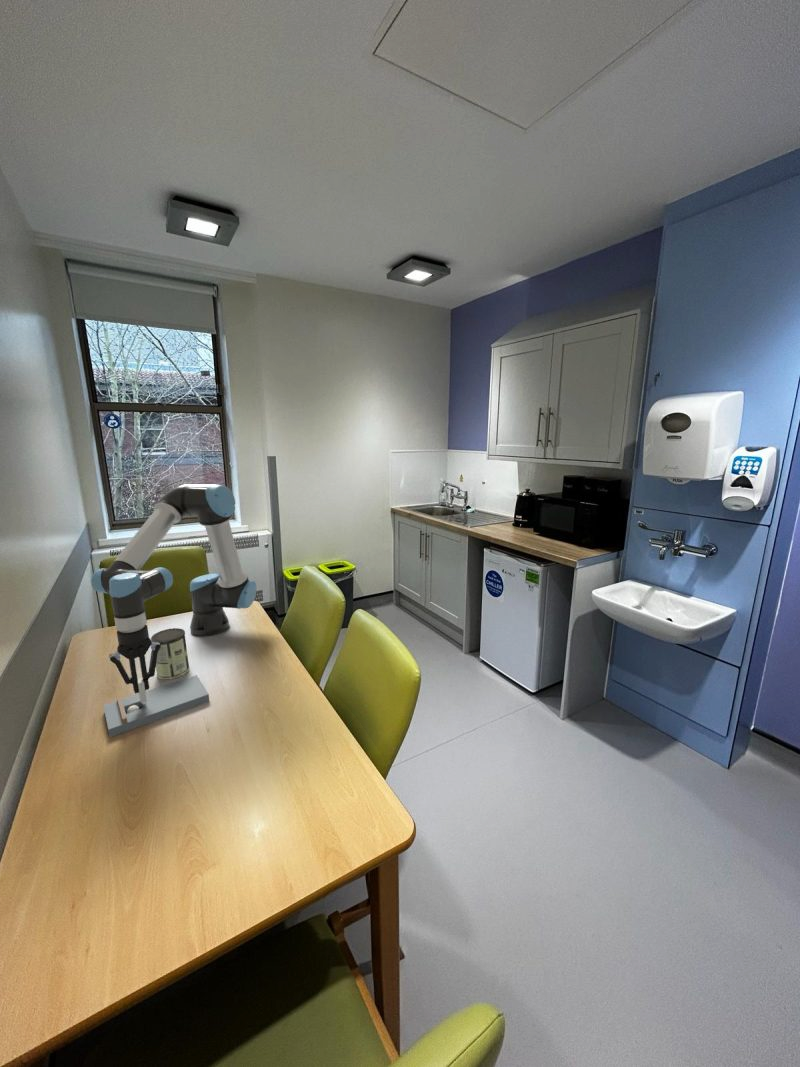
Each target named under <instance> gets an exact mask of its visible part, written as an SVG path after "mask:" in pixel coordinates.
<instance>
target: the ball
mask: <svg viewBox="0 0 800 1067" xmlns="http://www.w3.org/2000/svg"><path fill="white" fill-rule="evenodd" d="M137 710H140V709H139V707H138V706H136V705H133V706H130V707H129V708H128V710H127V713H126V714H128V713H131V712H134V711H137Z"/></svg>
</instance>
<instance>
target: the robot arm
mask: <svg viewBox="0 0 800 1067" xmlns="http://www.w3.org/2000/svg"><path fill="white" fill-rule="evenodd" d="M235 505H236V498H235V496H234V494H233V492H232V490H231V489H230V488H229V487H228V486H226V485H224V484H223V485H222V484H217V483H210V484H209V483H208V484H204V483H203V484H201V483H199V484H198V483H184V484H180V485H179V486H176V487H174V488H172V489H171V490H170V491H168V492H167V493H165V494H164V495H163V496H162V497H161V498H160V499H159V500H158V501H157V502H156V503H155V504H154V506H153V512H152V513H151V514H150V515H149V517H148V518H147V520H146V521H145V522H144V523H143V525H141V527H140V528H139V530H138V531H137V532H136V533H135V535H134V536H133V537H132V538H131V539H130V541H129V542H128V543H127V544H126V545H125V547H124V548H123V549H122V551H121V552H120V553H119V555H117V556H116V558H115V559H114V561H113V562H112V563H111V564H110V565H109V566H108V567H104V568H99V569H97V570H96V571H94V572H93V574H92V575H91V580H90V584H91V587H92V589H93V590H95V592H97V593H102V594H109V596H110V600H111V607H112V610H113V618H114V624H115V630H116V637H117V643H118V645H117V648H116V649H117V650H116V651H115V652H114V653H110V654H109V660H110V662H111V663H113V664H114V665H115V667H116V669H117V670H118V671H119V672H118V673H119V674H120V675H121V677H122V680H123V682H124V683H125V684H126V685H130V684H132V687H133V692H134V695H136V694H139V698H140V701H141V703H144V702H147V699H146V692H145V691H148V690H150V684H149V679H150V678H152V677H153V678H154V676H155V674H156V661H157V654H158V651H159V649H160V648H161V645H160V643H159V642H156V643H155V642H152V641H151V638H150V636H149V629H148V625H147V624H148V621H147V616H146V615H147V614H146V609H145V608H146V607H145V602H146V601H147V600H148V601H149V599H152V598H154V597H156V596H158V595H160V594H162V593H165V591H167V590H169V589H170V588H171V587H172V585H173V583H174V577H173V574H172V573H171V571H170V570H169V569H167V568H165V567H162V566H159V567H155V568H151V569H150V570H144V569H142V568H143V566H144V565H145V563H146V562H147V561H148V560H149V558H150V556H151V555H152V554H153V553H154V551H155V550H156V549H157V548H158V546H159V545H160V543H161V542H162V541H163V539H164V538H165V536H166V535H167V534H168V533H169V531H170V530H171V529H172V527H174V524H177V523H179V522H181V520H182V519H183V518H185V517H187V516H195V517H197V519H198V522H199V524H200V525H201V526H202V527H204V528H205V530H206V534H207V538H208V541H209V544H210V547H211V551H212V554H213V557H214V558H213V559H214V562H215V565H216V568H217V571H218V573H208V574H204V575H200V576H197V577H195V578H193V579H192V580H190V583H189V591H190V599H191V606H192V607H191V608H192V617H191V622H190V626H189V629H190V633H191V634H192V635H193V636H199V637H204V636H205V637H206V636H214V635H217V634H220V633H222V632H224V631H226V630H227V629H228V628H229V627H230V622H229V621H230V620H229V618H228V617H227V616H228V615H226V614H227V613H226V612H225V611H224V610H225V609H224V608H227V609H228V608H229V609H247V608H248V609H249V608H250V607H251V606H252V604H254V601H255V599H256V595H257V583H256V582H255V581H254V580H252V579H250V580H249V576H248V574H247V573H246V572H245V571H244V570H243V569H242V565H241V561H240V558H239V554H238V551H237V547H236V543H235V539H234V536H233V535H234V534H233V530H232V528H231V524H230V520H231V519H232V517H233V514H234V513H235V511H236V506H235ZM149 649H151V651H150V652H151V653H150V658H149V666H148V668H147V664H146V656H145V655H146V654H147V652H148V651H149ZM120 655H121V656H123V657H124V658H126V659H128V663H129V670H130V677H129V675H128V673H127V671H126V669H125V667H124V665H123V663H122V661H121V656H120ZM137 658H138V659H139V665H140V666H139V667H140V672H141V678H138V674H137V666H136V660H135V659H137Z"/></svg>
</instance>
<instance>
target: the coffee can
mask: <svg viewBox="0 0 800 1067" xmlns="http://www.w3.org/2000/svg"><path fill="white" fill-rule="evenodd" d="M150 639H151V641H152V642H155V643H156V642H159V643H160V645H161V648H160V649H159V651H158V654H157V661H156V668H155V672H156V677H157V678H158V679H160V680H172V679H173V680H174V679H176V678H180V677H182V676H184V675H186V674H187V673H188V672H189V670H190V664H189V663H190V662H189V657H188V650H187V649H188V648H187V643H186V642H187V640H186V631H185V630H184V629H183V628H180V627H179V628H178V627H177V628H175V627H173V628H167V629H163V630H160V631H158V632H156V633H154V634H152V636H151V638H150Z"/></svg>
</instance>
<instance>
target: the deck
mask: <svg viewBox="0 0 800 1067" xmlns="http://www.w3.org/2000/svg"><path fill="white" fill-rule="evenodd" d="M145 692H146V699H147V702H144V703H141V701H140V698H139V693H136V694H134V695H129V696H126V697H122V696H121V694H119V695H116V700H114V701H111V702H109V703H105V704H103V705H102V706H103V711H104V716H105V721H106V726H107V730H108V735H109V738H112V737H116V736H118V735H121V734H124V733H126V732H129V731H132V730H134V729H137V728H140V727H142V726H146V725H148V724H151V723H153V722H156V721H159V720H162V719H164V718H167V717H171V716H172V715H173V716H174V715H175V714H178V713H181V712H184V711H187V710H189V709H193V708H195V707H197V706H200V705H203V704H206V703H209V702H210V696H209V692H208V691H207V689H206V688H205V686H204V685H203V683H202V681H201V680H200V677H198V675H197V674H196V675H193V676H188V677H186V678H183V679H180V680H176V681H174V682H170V683H167V684H164V685H161V686H158V687H155V688H152V689H148V690H145ZM133 705H136V706H138V707H139V709H140V710H137V711H134V712H131V713H128V714H127V710H128V708H129V707H130V706H133Z"/></svg>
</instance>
